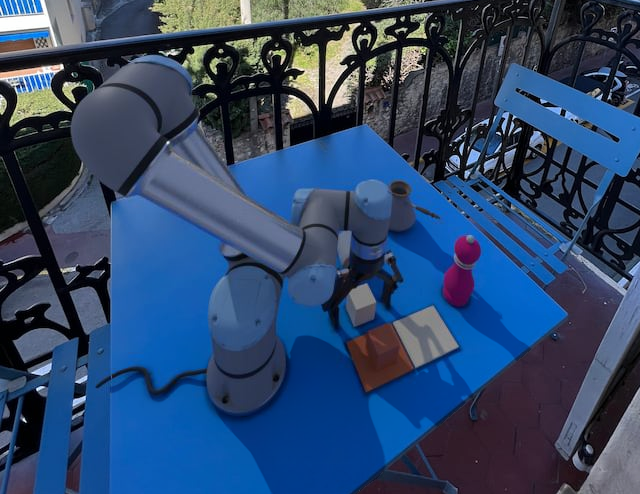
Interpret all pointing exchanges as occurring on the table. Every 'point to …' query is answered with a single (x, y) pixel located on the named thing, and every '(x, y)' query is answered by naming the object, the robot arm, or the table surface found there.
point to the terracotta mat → (366, 369)
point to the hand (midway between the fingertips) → (360, 312)
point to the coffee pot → (403, 207)
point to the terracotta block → (382, 347)
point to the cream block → (361, 305)
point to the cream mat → (425, 336)
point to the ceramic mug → (344, 248)
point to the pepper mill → (461, 271)
